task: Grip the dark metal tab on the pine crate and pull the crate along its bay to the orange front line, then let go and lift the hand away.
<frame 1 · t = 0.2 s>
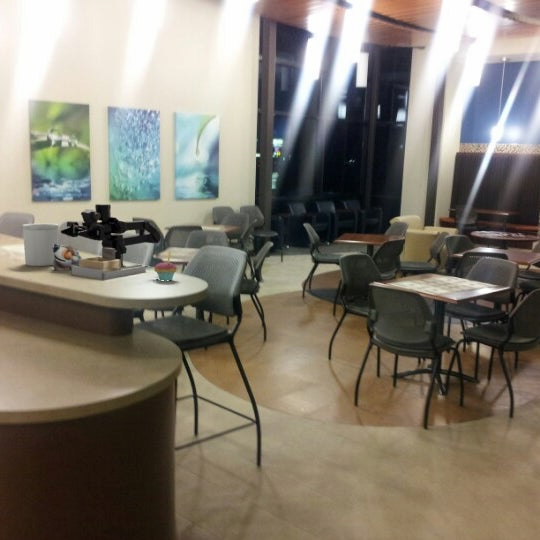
hand: (69, 232, 232), 17 cm above the table, tool horizontal, fingers open, 9 cm apart
bay: (109, 276, 234), on the table
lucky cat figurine: (70, 271, 244), on the table
utensil holder: (41, 264, 259), on the table
cupcake: (165, 280, 228), on the table
crate: (100, 262, 229), point 6 cm above the table, slide at 9.0 cm
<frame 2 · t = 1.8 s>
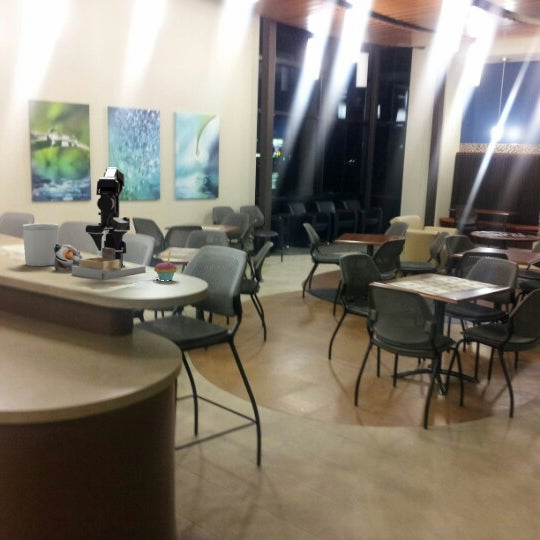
hand: (108, 249, 232), 11 cm above the table, tool pointing down, fingers open, 9 cm apart
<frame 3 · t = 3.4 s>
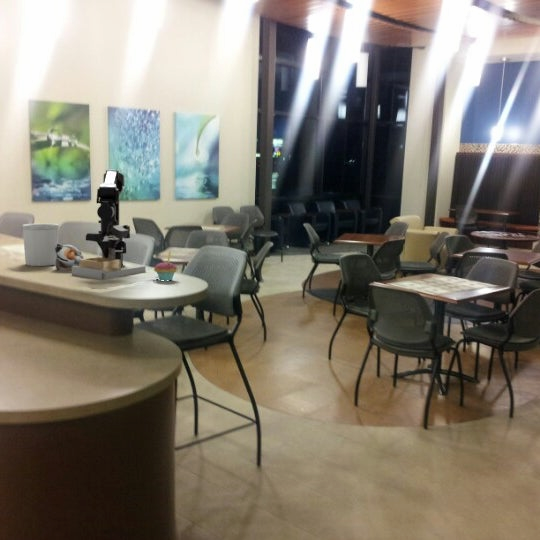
hand: (108, 257, 232), 8 cm above the table, tool pointing down, fingers closed on crate, 2 cm apart
crate: (100, 262, 229), point 6 cm above the table, slide at 9.0 cm, touching gripper
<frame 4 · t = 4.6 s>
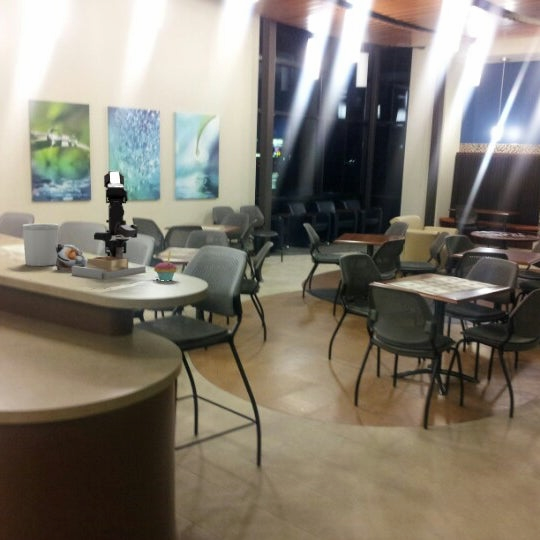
hand: (116, 256, 236), 8 cm above the table, tool pointing down, fingers closed on crate, 2 cm apart
crate: (108, 260, 232), point 6 cm above the table, slide at 4.8 cm, touching gripper
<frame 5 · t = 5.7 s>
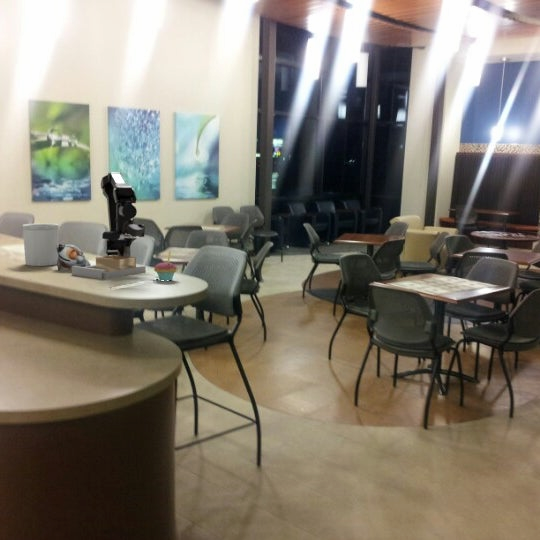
hand: (124, 255, 240), 7 cm above the table, tool pointing down, fingers closed on crate, 2 cm apart
crate: (116, 259, 236), point 6 cm above the table, slide at 0.4 cm, touching gripper
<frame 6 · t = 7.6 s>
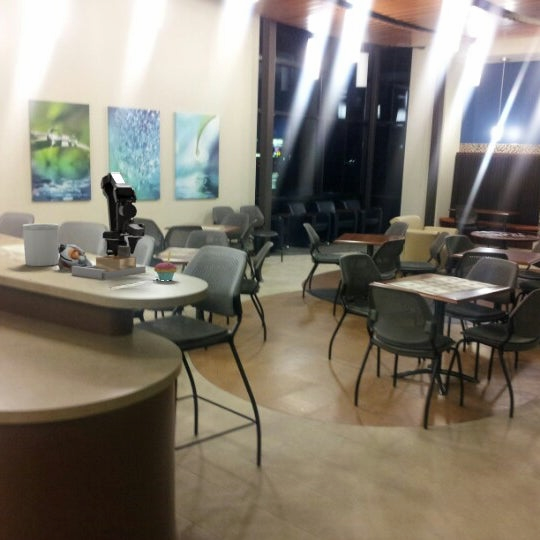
hand: (124, 255, 240), 8 cm above the table, tool pointing down, fingers open, 9 cm apart
crate: (116, 259, 236), point 6 cm above the table, slide at 0.4 cm
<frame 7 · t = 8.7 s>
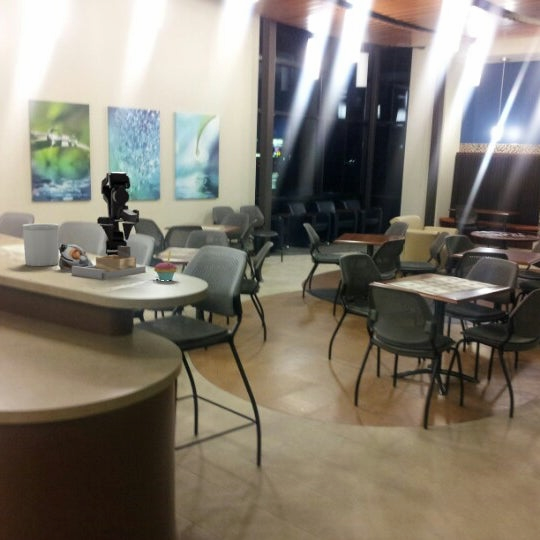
hand: (118, 240, 243), 13 cm above the table, tool pointing down, fingers open, 9 cm apart
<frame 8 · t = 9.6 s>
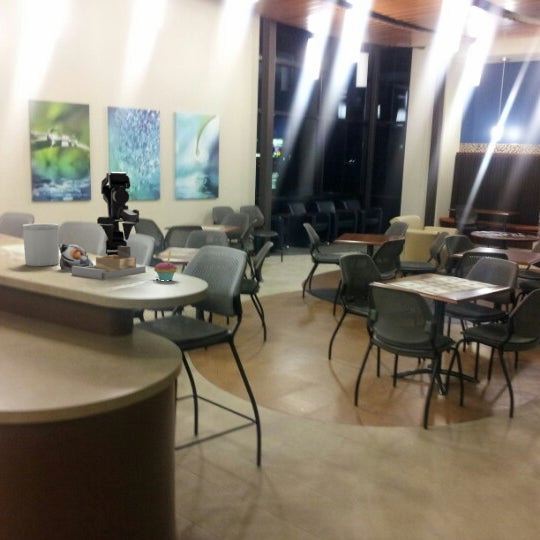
hand: (118, 240, 243), 13 cm above the table, tool pointing down, fingers open, 9 cm apart
at the end: crate slide at 0.4 cm; the gripper is holding nothing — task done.
